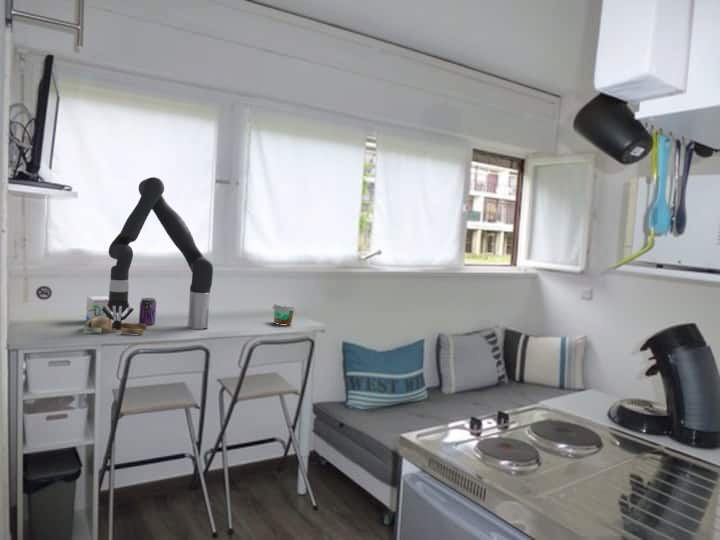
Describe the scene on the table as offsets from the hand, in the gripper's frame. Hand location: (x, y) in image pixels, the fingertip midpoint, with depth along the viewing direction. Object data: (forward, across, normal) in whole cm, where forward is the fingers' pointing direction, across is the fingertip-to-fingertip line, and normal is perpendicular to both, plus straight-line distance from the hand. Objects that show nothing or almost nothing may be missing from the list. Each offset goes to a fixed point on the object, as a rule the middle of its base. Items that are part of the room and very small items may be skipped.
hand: (117, 329), depth 229 cm
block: (+1, +6, -1) cm, 6 cm away
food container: (+2, -74, -28) cm, 79 cm away
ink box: (+1, +11, -17) cm, 20 cm away
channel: (+1, 0, 0) cm, 1 cm away
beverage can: (+1, -10, -17) cm, 20 cm away
